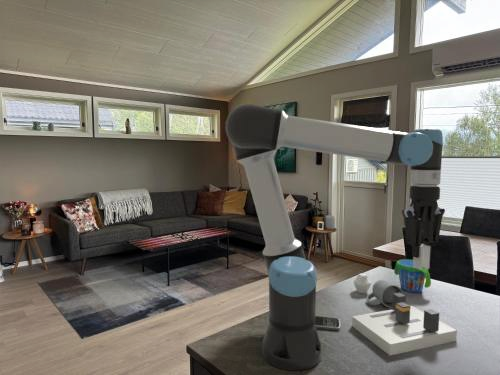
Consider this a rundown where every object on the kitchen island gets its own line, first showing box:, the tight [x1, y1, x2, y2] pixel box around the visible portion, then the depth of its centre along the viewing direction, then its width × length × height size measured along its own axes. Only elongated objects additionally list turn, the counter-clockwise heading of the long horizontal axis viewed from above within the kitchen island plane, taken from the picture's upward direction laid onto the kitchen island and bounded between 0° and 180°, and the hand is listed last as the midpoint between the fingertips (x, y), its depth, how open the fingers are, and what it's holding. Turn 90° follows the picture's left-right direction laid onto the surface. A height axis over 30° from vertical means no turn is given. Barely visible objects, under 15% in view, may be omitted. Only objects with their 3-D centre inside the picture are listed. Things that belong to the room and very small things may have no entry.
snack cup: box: [393, 259, 432, 293], centre depth 130 cm, size 16×10×10 cm
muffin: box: [353, 272, 372, 294], centre depth 128 cm, size 6×6×7 cm
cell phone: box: [315, 315, 341, 331], centre depth 103 cm, size 6×11×1 cm, turn 77°
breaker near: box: [423, 308, 440, 333], centre depth 93 cm, size 2×3×5 cm
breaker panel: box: [351, 305, 458, 356], centre depth 98 cm, size 22×16×3 cm
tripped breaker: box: [396, 302, 411, 324], centre depth 97 cm, size 3×3×5 cm
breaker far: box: [391, 293, 407, 311], centre depth 104 cm, size 2×3×5 cm
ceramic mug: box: [365, 279, 404, 309], centre depth 118 cm, size 11×8×8 cm
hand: (421, 267), depth 98 cm, fingers open, 2 cm apart
